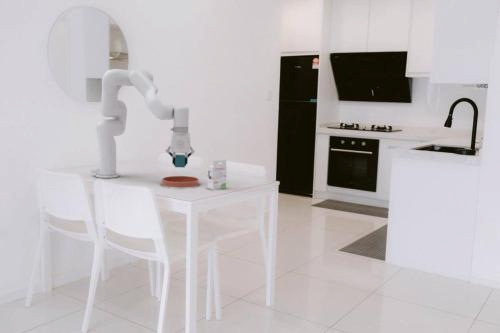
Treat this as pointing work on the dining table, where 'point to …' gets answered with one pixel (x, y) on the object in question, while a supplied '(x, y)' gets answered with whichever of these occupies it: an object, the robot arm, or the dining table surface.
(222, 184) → the ink box
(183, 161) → the block
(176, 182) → the bowl
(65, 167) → the dining table surface
